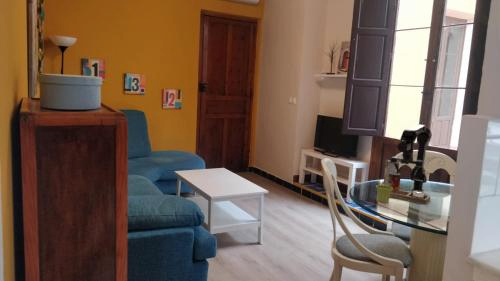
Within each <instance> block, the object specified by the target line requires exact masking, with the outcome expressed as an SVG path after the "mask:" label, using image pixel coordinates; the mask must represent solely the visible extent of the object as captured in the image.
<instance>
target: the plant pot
mask: <svg viewBox="0 0 500 281" xmlns="http://www.w3.org/2000/svg"><path fill="white" fill-rule="evenodd" d="M375 187H376V192H377V193H376V194H377V196H376V198H377V201H378V202H380V203H389V200H390V198H391V197H390V194H391V191H392V189H393V188H392V187H390V186H388V185H385V184H377V185H376V186H375Z"/></svg>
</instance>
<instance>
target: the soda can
mask: <svg viewBox="0 0 500 281" xmlns="http://www.w3.org/2000/svg"><path fill="white" fill-rule="evenodd" d="M400 184H401V173H400V172H399V173H398V174H397V171H396V172H390V173H389V180H388V185H387V186H390V187H392V188H393V189H396V190H400Z"/></svg>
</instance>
